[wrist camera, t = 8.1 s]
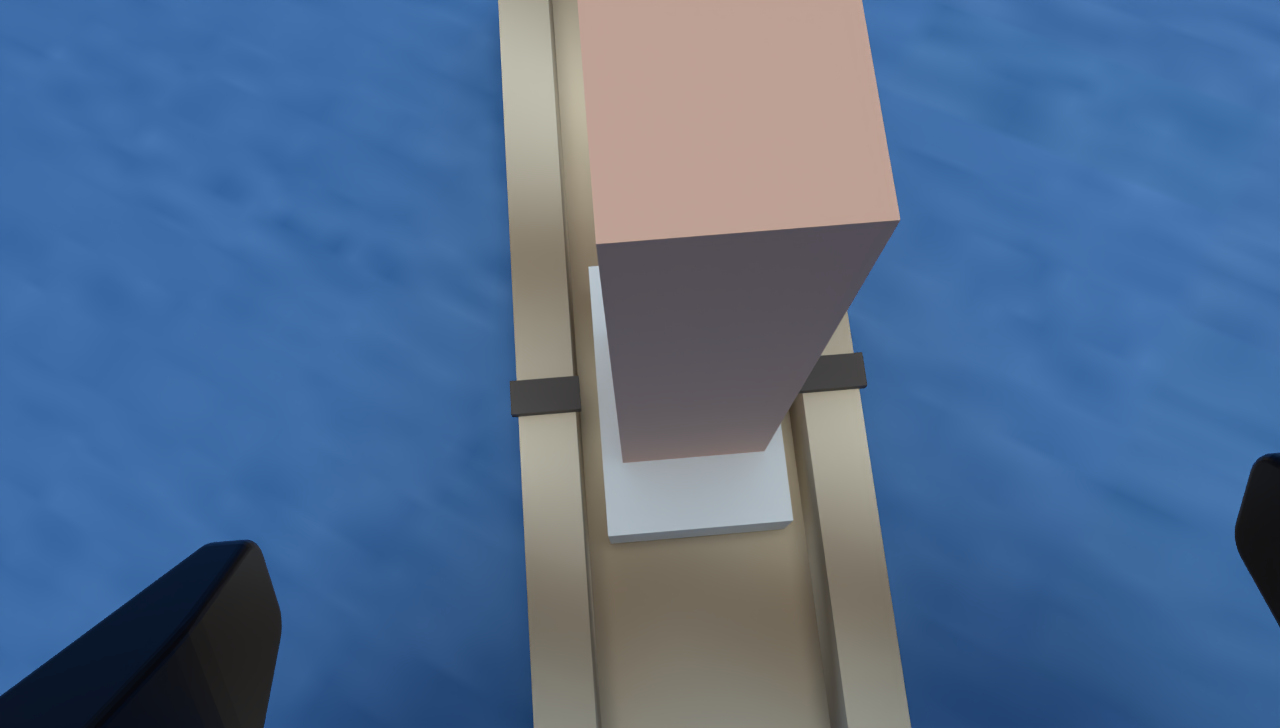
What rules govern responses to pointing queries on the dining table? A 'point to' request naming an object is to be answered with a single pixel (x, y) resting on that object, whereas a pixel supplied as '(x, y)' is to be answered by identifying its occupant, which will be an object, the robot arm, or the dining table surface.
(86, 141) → the dining table surface
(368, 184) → the dining table surface
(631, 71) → the fader tab
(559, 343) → the fader track
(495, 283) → the dining table surface
